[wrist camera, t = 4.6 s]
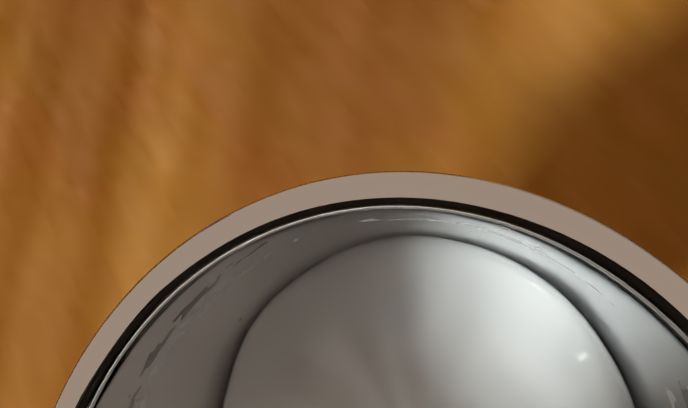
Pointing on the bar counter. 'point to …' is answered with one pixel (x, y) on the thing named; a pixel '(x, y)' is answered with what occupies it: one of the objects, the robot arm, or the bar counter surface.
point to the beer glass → (395, 307)
